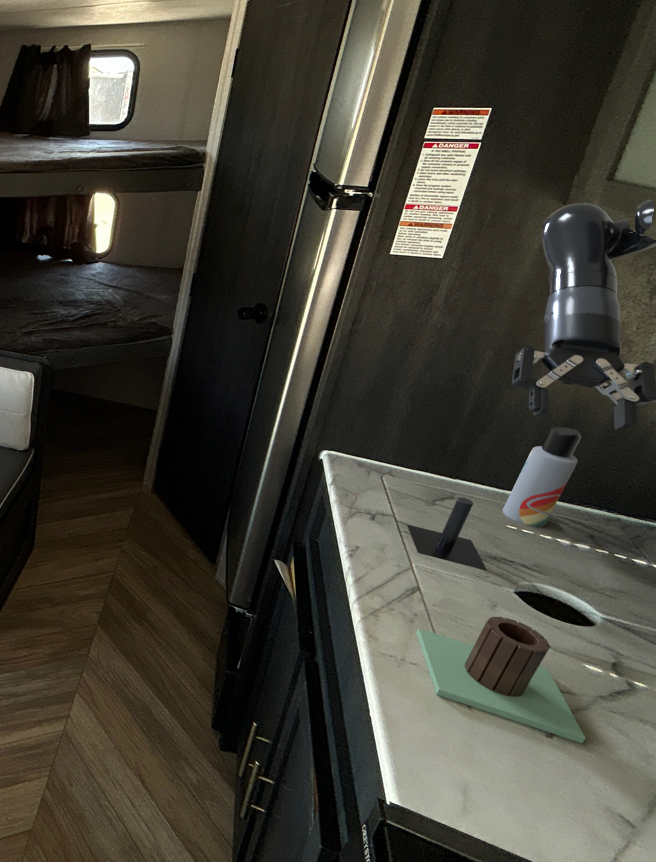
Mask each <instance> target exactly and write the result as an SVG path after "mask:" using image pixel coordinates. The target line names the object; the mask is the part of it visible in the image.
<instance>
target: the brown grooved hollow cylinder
mask: <svg viewBox="0 0 656 862" xmlns="http://www.w3.org/2000/svg"><path fill="white" fill-rule="evenodd" d="M473 645H474V647H473V649H472V651H471V653H470V655H469V657H468V659H467V660H466V662H465V665H464V666H465V668H466V671H467V672H468V673H469V675H470V676H471V677H472V678H473V679H474V680H475V681H476V682H480V683H479V684H481V685H482V686H484V687H486V688H488V689H489V690H491V691H492V690H494V692H496V693H499V694H502V695H505V696H507V695H509V696H521V695H522V694H523V693H524V691H525V690H526V688H527V686H528V684H529V683H530V681H531V679H532V678H533V676H534V674H535V672H536V671H537V669H538V667H539V665H542V662H543V660H544V659H545V657H546V656H547V653H548V652H549V650H550V649H551V648H550V646H551V645H550V643H549V641H548V640H547V638H545V636H543V635H542V634H541V633H539V631H537V630H535V629H533V628H532V627H531V626H529V625H527V624H525V623H522V622H520V621H517V620H515V619H512V618H508V617H502V616H492V617H489V618H488V619H487V620H486V621H485V624H484V626H483V628H482V630H481V632H480V633H479V635H478V637H477V639H476V641H475V643H474V644H473Z"/></svg>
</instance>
